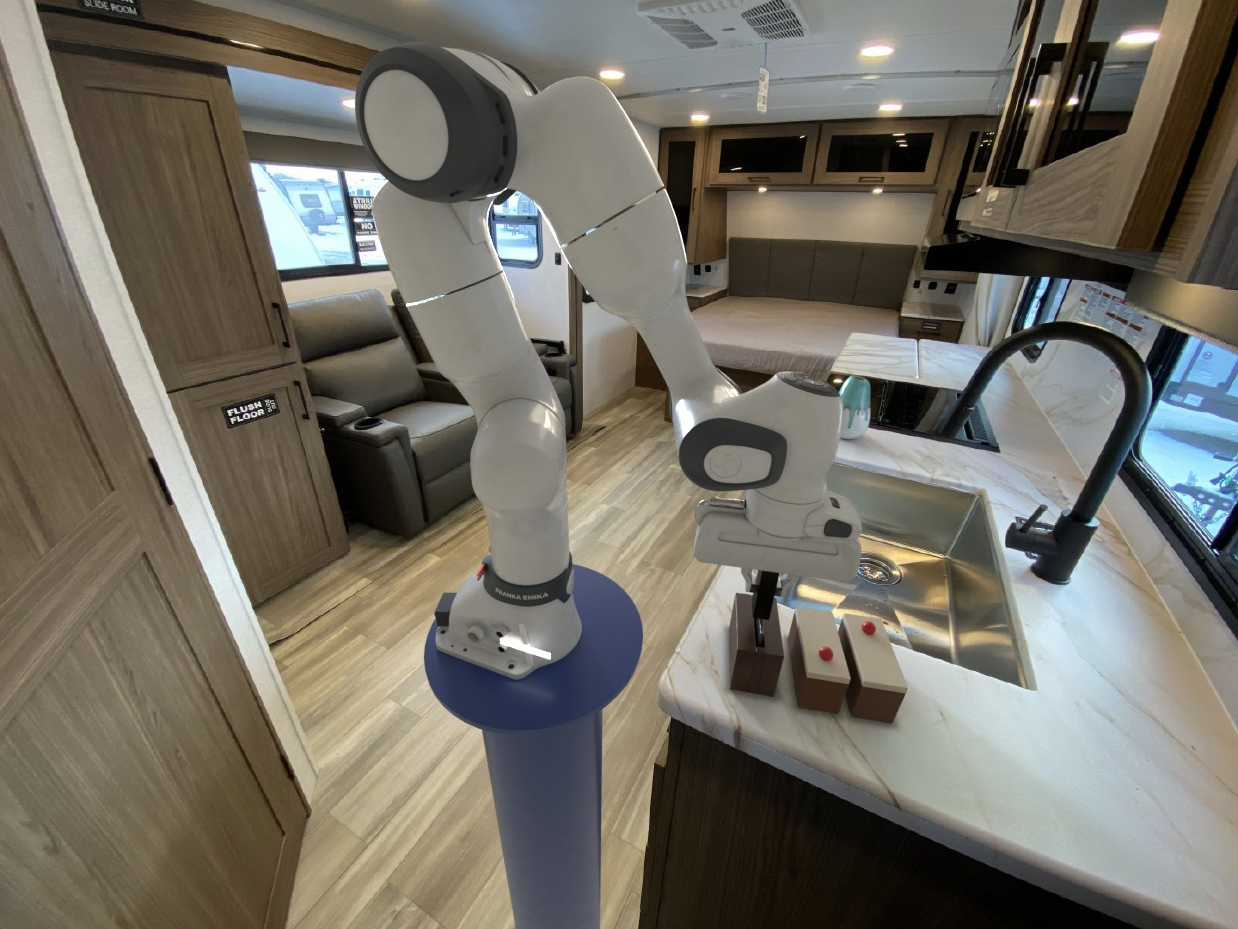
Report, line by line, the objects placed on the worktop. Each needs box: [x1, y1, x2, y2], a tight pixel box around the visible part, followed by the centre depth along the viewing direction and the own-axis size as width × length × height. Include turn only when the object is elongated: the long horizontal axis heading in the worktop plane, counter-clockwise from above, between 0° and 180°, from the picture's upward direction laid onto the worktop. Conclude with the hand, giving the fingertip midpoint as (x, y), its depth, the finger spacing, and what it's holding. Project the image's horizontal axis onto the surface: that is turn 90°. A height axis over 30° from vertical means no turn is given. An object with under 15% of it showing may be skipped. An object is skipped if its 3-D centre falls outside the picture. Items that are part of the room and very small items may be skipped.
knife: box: [752, 570, 781, 647], centre depth 68 cm, size 2×8×19 cm, turn 169°
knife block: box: [728, 592, 785, 698], centre depth 71 cm, size 6×11×8 cm, turn 170°
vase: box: [838, 375, 872, 440], centre depth 143 cm, size 12×12×18 cm
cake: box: [786, 605, 909, 725], centre depth 69 cm, size 12×12×8 cm
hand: (764, 591), depth 66 cm, fingers closed on knife, 2 cm apart
